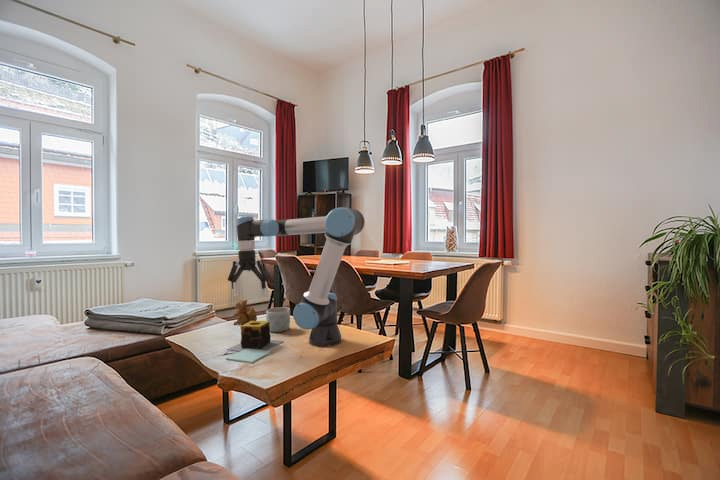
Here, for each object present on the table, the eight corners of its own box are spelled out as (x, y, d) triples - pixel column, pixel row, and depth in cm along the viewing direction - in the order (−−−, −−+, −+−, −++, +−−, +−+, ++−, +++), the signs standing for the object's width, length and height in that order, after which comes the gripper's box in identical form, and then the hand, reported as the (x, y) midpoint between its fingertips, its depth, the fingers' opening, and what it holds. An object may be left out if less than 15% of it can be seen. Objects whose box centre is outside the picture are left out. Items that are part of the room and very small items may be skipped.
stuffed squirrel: (240, 320, 212) (240, 298, 212) (261, 321, 209) (261, 298, 208) (230, 324, 203) (229, 301, 202) (252, 325, 199) (251, 302, 199)
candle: (261, 349, 158) (260, 326, 158) (240, 348, 160) (239, 326, 160) (271, 341, 168) (270, 320, 168) (251, 341, 170) (250, 320, 170)
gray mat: (283, 341, 169) (283, 341, 169) (259, 354, 152) (259, 353, 152) (253, 338, 176) (253, 337, 176) (226, 350, 159) (226, 349, 159)
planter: (287, 333, 183) (287, 312, 182) (263, 333, 183) (263, 312, 182) (292, 326, 195) (292, 306, 195) (270, 327, 195) (269, 307, 195)
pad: (271, 352, 154) (271, 351, 154) (252, 363, 142) (251, 361, 142) (247, 349, 159) (247, 348, 159) (226, 359, 147) (226, 358, 147)
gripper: (275, 248, 165) (277, 294, 165) (228, 250, 171) (230, 294, 171) (267, 249, 158) (269, 297, 158) (218, 251, 164) (220, 297, 164)
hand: (249, 296), depth 165 cm, fingers open, 13 cm apart
